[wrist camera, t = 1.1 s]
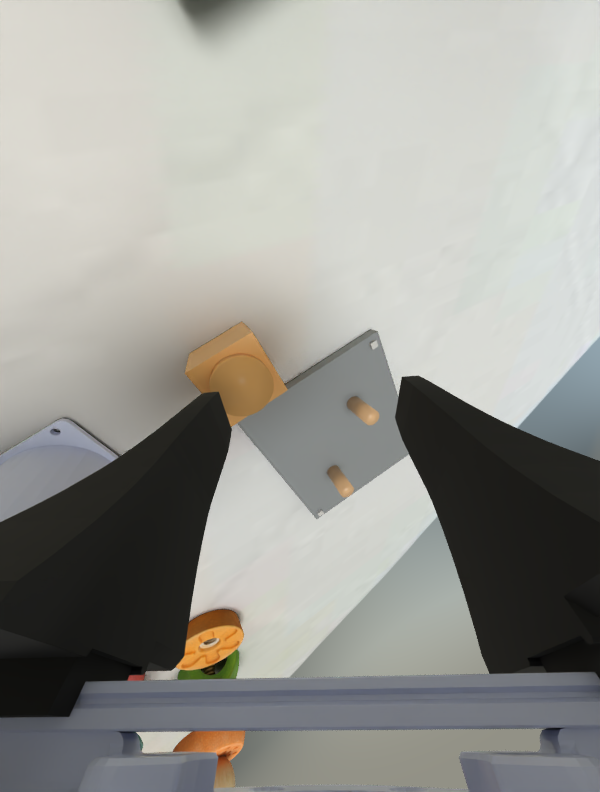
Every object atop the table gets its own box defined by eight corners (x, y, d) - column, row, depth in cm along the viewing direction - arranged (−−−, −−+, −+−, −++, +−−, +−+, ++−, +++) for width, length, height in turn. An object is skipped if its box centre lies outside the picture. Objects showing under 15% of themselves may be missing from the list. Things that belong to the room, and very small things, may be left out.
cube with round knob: (225, 399, 20) (232, 435, 15) (189, 353, 17) (183, 379, 13) (271, 369, 20) (292, 396, 15) (241, 321, 18) (255, 334, 13)
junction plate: (313, 512, 29) (328, 543, 25) (235, 416, 21) (241, 443, 17) (408, 445, 30) (435, 465, 26) (370, 329, 22) (401, 337, 18)
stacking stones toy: (256, 597, 32) (282, 756, 21) (233, 671, 37) (245, 827, 27) (80, 636, 24) (-17, 910, 14) (84, 721, 30) (16, 965, 19)
